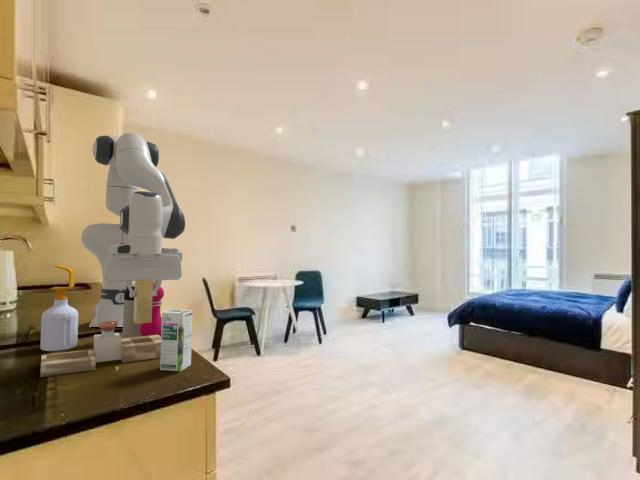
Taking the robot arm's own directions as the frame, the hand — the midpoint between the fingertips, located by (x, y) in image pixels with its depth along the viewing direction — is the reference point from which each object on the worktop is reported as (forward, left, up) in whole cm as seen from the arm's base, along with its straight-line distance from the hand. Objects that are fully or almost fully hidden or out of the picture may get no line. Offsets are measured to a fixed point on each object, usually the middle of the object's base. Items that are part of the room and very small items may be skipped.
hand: (143, 296), depth 109 cm
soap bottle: (-20, -19, -17) cm, 32 cm away
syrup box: (+17, +5, -17) cm, 24 cm away
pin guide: (-1, -8, -16) cm, 18 cm away
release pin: (-1, -9, -16) cm, 18 cm away
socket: (0, 0, -16) cm, 16 cm away
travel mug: (-21, +2, -17) cm, 27 cm away
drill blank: (0, 0, -7) cm, 7 cm away
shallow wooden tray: (+3, -17, -16) cm, 24 cm away
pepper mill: (-11, +5, -17) cm, 20 cm away
